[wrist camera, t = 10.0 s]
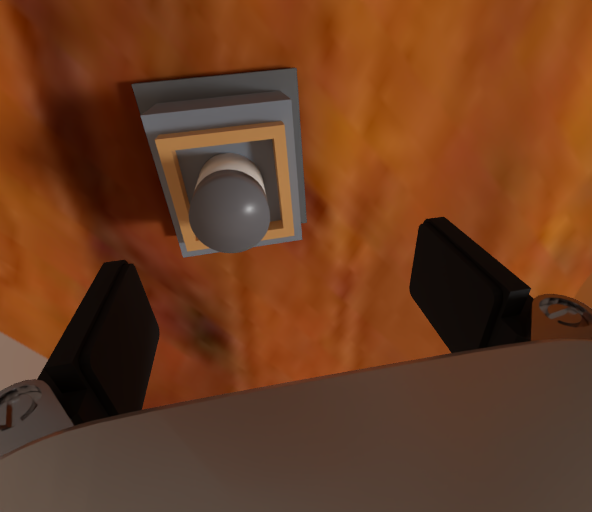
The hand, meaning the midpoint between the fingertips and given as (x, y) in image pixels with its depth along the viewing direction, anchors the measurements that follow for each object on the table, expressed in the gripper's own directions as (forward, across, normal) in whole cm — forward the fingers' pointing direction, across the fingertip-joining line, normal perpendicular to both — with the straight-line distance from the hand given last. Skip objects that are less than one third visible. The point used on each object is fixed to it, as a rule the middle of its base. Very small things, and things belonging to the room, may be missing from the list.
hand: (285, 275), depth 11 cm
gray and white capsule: (+16, +2, +2) cm, 16 cm away
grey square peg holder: (+23, +2, +3) cm, 23 cm away
